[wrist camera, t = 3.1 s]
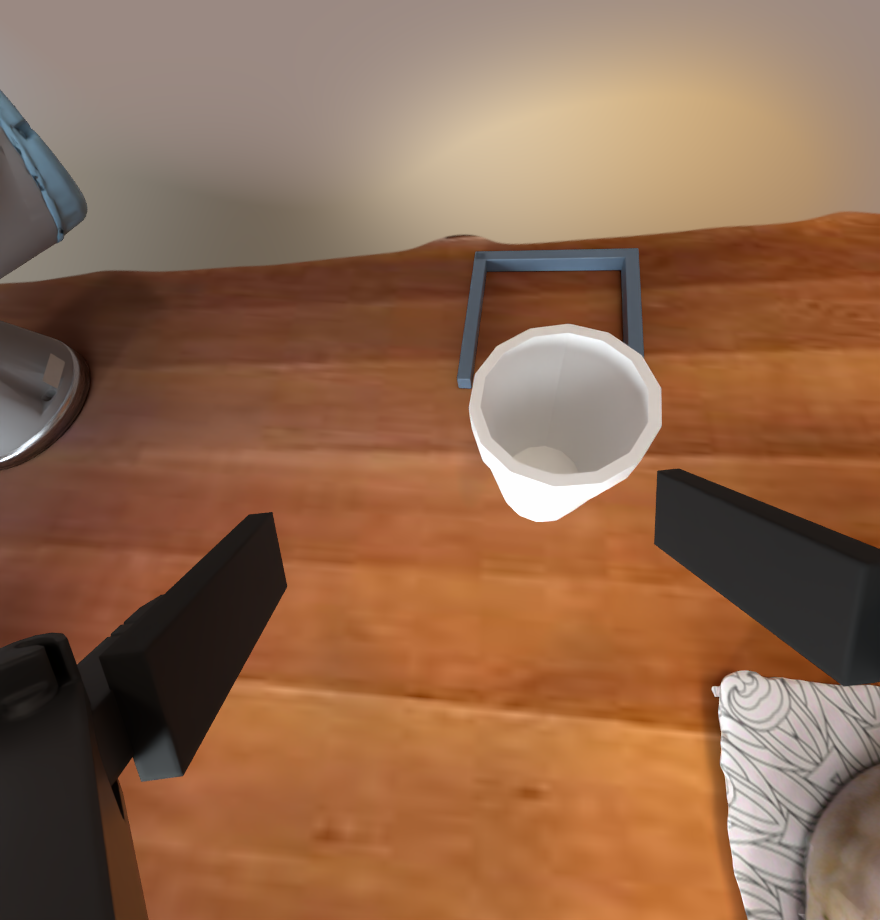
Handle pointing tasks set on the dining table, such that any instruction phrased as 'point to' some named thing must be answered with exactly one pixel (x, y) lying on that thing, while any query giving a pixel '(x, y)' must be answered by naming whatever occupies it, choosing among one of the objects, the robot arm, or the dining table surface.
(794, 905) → the cookie jar
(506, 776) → the dining table surface
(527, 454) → the foam cup
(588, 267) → the bay
